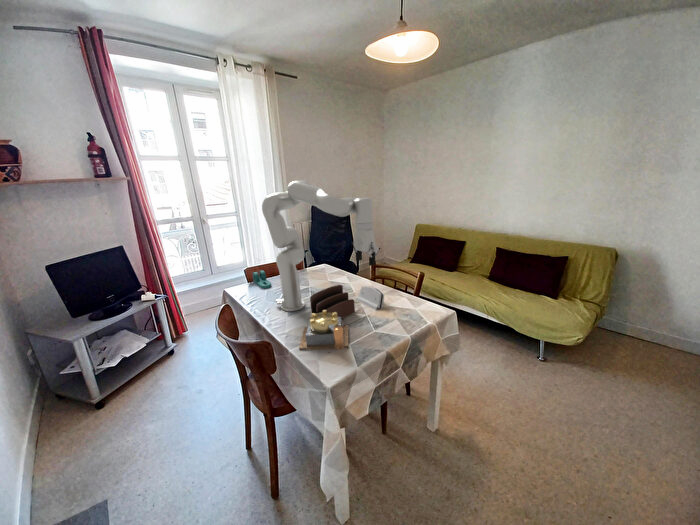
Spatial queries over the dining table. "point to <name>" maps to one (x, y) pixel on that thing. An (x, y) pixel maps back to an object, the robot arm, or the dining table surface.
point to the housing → (322, 338)
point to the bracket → (261, 280)
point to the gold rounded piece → (328, 326)
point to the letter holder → (332, 302)
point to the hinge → (371, 297)
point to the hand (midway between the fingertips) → (365, 262)
